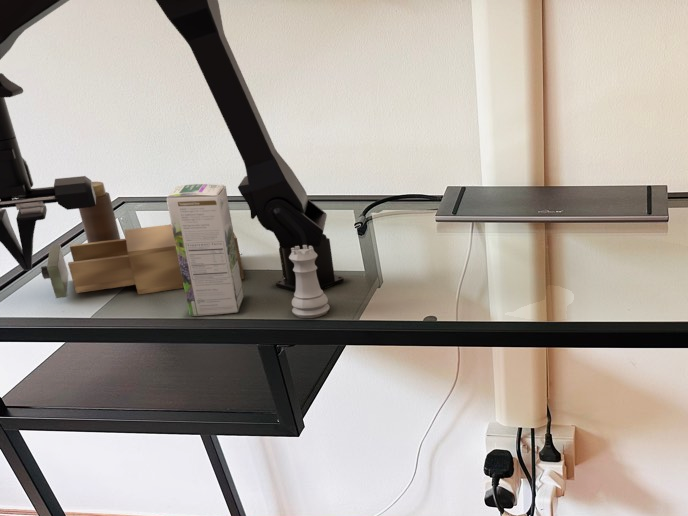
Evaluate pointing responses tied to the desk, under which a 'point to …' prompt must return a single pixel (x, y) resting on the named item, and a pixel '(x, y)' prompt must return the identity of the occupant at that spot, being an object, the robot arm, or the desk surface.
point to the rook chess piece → (307, 285)
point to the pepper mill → (100, 217)
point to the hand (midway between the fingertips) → (28, 269)
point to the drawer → (90, 267)
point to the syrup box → (206, 248)
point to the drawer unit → (157, 259)
